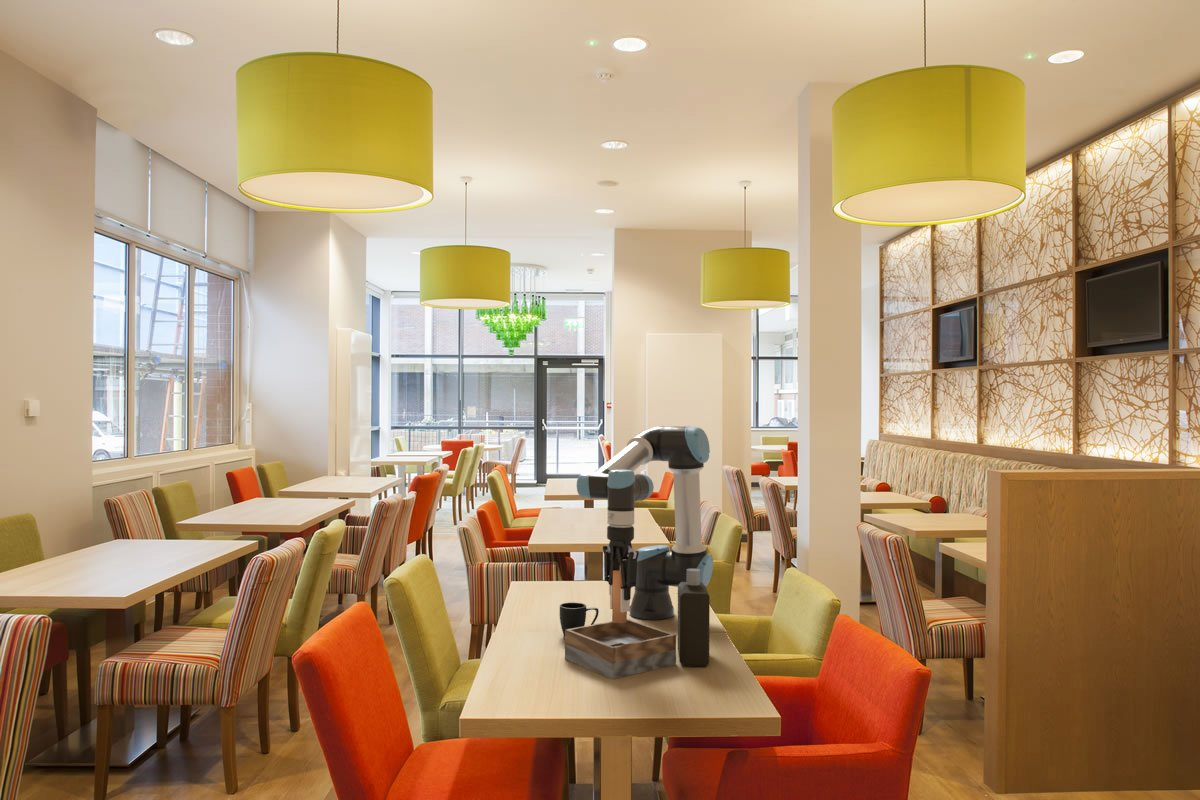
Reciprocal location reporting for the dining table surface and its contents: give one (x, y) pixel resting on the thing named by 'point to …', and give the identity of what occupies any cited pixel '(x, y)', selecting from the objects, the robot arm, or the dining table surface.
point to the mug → (574, 615)
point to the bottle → (693, 621)
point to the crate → (620, 648)
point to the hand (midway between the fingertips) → (619, 609)
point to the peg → (617, 599)
